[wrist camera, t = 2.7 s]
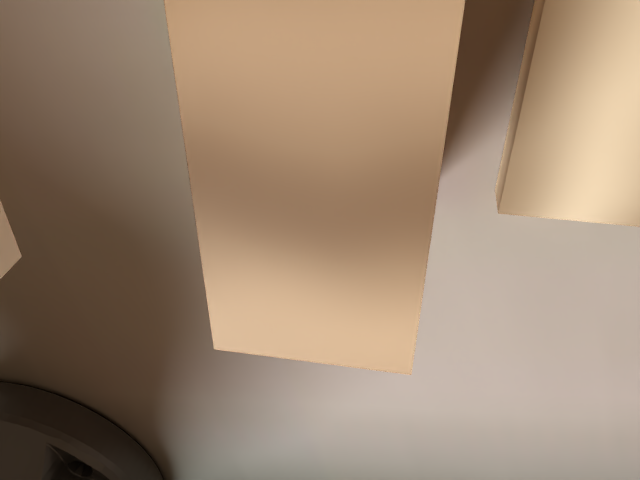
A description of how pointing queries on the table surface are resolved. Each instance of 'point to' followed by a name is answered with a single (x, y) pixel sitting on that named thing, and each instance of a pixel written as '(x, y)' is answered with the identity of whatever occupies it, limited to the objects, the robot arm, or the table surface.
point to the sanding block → (315, 168)
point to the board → (576, 116)
